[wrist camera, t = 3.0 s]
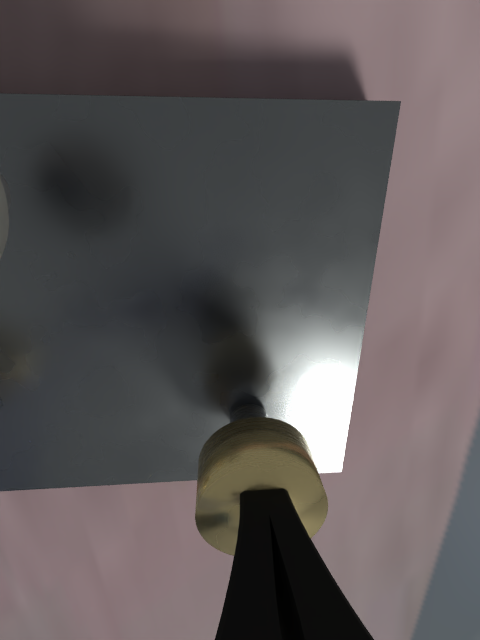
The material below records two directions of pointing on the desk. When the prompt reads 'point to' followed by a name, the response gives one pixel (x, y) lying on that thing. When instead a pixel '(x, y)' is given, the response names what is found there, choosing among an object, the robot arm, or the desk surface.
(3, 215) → the middle white knob
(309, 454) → the outer brass knob
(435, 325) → the desk surface
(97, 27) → the desk surface
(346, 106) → the plate
